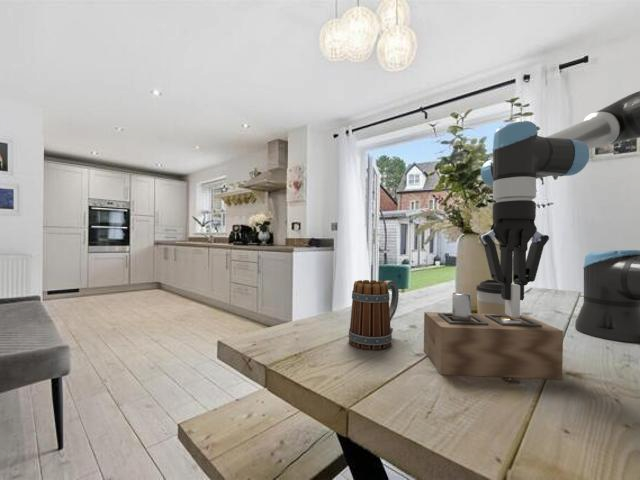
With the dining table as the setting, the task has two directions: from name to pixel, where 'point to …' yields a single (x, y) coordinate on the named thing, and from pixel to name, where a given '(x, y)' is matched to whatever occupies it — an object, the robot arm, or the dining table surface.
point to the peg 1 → (461, 307)
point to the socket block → (493, 346)
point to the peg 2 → (511, 320)
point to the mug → (372, 314)
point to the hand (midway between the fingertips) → (512, 315)
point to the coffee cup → (490, 298)
